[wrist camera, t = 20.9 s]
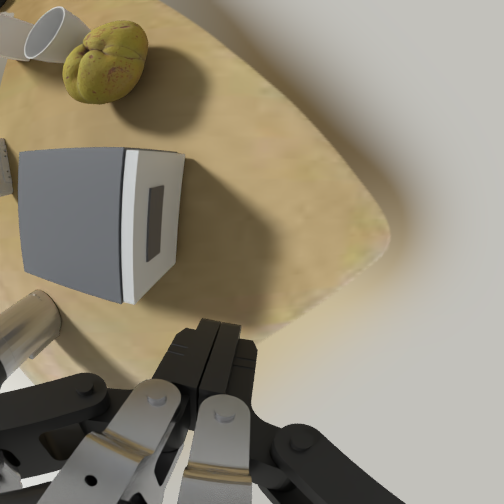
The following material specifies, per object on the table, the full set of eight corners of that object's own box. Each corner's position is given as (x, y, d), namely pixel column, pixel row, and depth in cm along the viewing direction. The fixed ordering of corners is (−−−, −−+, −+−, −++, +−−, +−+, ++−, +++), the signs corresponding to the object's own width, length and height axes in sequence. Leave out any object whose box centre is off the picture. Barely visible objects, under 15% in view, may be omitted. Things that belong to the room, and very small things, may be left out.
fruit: (174, 84, 28) (136, 59, 18) (100, 125, 30) (51, 119, 21) (155, 25, 25) (120, -7, 16) (88, 66, 27) (44, 50, 18)
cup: (79, 27, 25) (42, 9, 15) (112, 27, 25) (74, 3, 16) (58, 69, 27) (17, 58, 18) (88, 73, 28) (44, 58, 18)
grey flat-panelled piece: (177, 263, 34) (136, 305, 23) (84, 244, 35) (32, 272, 24) (186, 154, 30) (140, 150, 19) (87, 150, 30) (27, 153, 20)
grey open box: (167, 260, 35) (121, 304, 23) (80, 242, 36) (24, 271, 24) (177, 151, 31) (123, 147, 19) (83, 149, 31) (19, 152, 19)
